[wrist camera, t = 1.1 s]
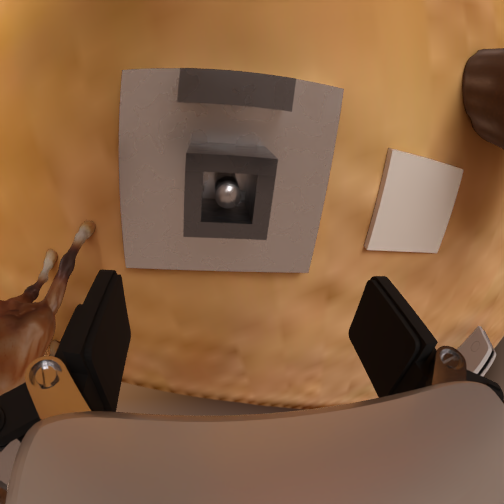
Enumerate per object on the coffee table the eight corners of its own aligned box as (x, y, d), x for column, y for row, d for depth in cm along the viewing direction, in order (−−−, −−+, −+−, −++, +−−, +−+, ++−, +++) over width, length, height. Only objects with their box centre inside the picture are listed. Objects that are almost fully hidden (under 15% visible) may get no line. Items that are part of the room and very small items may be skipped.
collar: (190, 141, 23) (186, 153, 18) (265, 146, 24) (278, 159, 19) (187, 210, 26) (183, 237, 21) (256, 213, 27) (266, 240, 22)
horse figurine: (62, 160, 23) (-102, 293, 5) (129, 198, 26) (26, 391, 8) (17, 349, 33) (-26, 462, 16) (59, 372, 36) (28, 490, 18)
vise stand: (127, 71, 20) (103, 65, 15) (337, 88, 23) (369, 90, 18) (129, 259, 29) (115, 296, 24) (304, 264, 32) (322, 300, 27)
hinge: (432, 385, 53) (444, 416, 43) (420, 377, 52) (432, 410, 43) (485, 330, 47) (506, 358, 37) (475, 320, 46) (497, 348, 37)
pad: (388, 147, 26) (392, 149, 26) (459, 167, 28) (463, 169, 27) (363, 246, 32) (366, 249, 31) (433, 250, 33) (437, 253, 33)
